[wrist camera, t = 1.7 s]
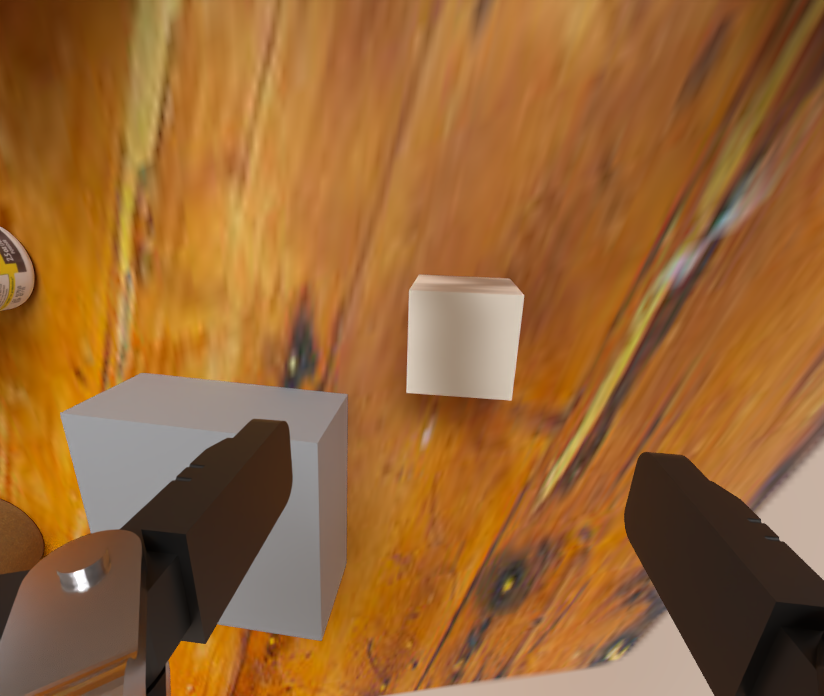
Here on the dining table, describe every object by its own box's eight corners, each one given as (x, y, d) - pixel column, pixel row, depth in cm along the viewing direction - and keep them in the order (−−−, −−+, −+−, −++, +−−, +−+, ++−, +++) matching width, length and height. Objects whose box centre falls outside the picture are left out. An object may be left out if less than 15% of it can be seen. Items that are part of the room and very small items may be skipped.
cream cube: (509, 278, 22) (524, 295, 17) (500, 363, 23) (511, 400, 19) (419, 274, 22) (409, 290, 17) (416, 357, 24) (406, 392, 19)
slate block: (349, 392, 25) (317, 443, 20) (347, 560, 30) (321, 640, 24) (145, 371, 26) (59, 413, 21) (173, 535, 31) (110, 607, 25)
